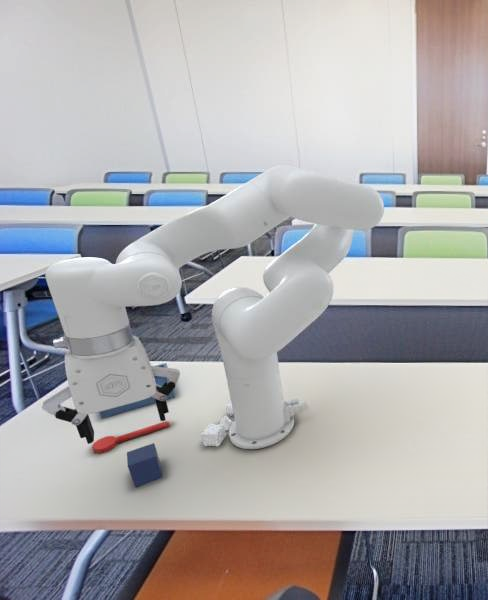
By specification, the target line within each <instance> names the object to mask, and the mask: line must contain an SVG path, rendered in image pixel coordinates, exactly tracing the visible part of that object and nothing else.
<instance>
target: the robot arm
mask: <svg viewBox="0 0 488 600" xmlns="http://www.w3.org/2000/svg"><path fill="white" fill-rule="evenodd" d="M384 212H385V204H384V200H383V197H382V196H381V194H380V192H378V190H376V189H375V188H373V187H372V186H370V185H367V184H363V183H359V182H355V181H352V180H348V179H343V178H338V177H335V176H334V177H333V176H329V175H326V174H323V173H319V172H316V171H312V170H309V169H306V168H302V167H298V166H294V165H290V164H279V165H276V166H273V167H270V168H269V169H267V170H265V171H263V172H262V173H260V174H258V175H257V176H255V177H253V178H251V179H250V180H248V181H247V182H245V183H243V184H241V185H240V186H238V187H237V188H235V189H234V190H232V191H230V192H228V193H227V194H225V195H223V196H222V197H220V198H218V199H217V200H215V201H213V202H211V203H209V204H207V205H205V206H202V207H199V208H197V209H195V210H193V211H191V212H189V213H185V214H184V215H181V216H178V217H177V218H174V219H172V220H170V221H168V222H166V223H164V224H162V225H160V226H159V227H157V228H155V229H153V230H152V231H150V232H148V233H146V234H145V235H143V236H141V237H140V238H138V239H136V240H134V241H133V242H131V243H130V244H128V245H127V246H126V247H125V248H123V250H121V252H120V253H119V254H118V255H117V258H116V260H115V263H112V262H111V261H109V260H107V259H105V258H101V257H91V256H88V257H87V256H86V257H75V258H69V259H64V260H60V261H58V262H55V263H53V264H51V265H49V266H48V267H47V269H46V270H45V273H44V274H45V275H44V277H45V280H46V283H47V287H48V290H49V293H50V296H51V298H52V301H53V304H54V307H55V310H56V313H57V316H58V319H59V321H60V324H61V328H62V330H63V333H64V334H63V335H62V336H61V337H60V336H59V338H54V339H52V343H53V347H54V348H55V349H60V348H63V349H64V348H65V349H66V350H67V351H66V352H65V354H64V369H65V375H66V380H67V384H68V386H67V387H65V388H63V389H62V390H60V391H58V392H57V393H56V394H54V395H52V396H50V397H48V398H47V399H45V400H44V401H43V402H42V407H41V409H42V410H43V411H45V412H47V413H48V414H50V415H51V416H54V417H55V418H56V419H57V420H60V421H64V422H68V423H71V425H73V426H75V427H76V429H77V432H78V435H79V438H80V439H84V438H85V440H86V443H87V444H88V445H90V444H92V443H93V442H95V430H94V427H93V425H92V421H91V418H90V415H91V414H97V413H100V412H101V411H104V410H108V409H112V408H116V407H119V406H123V405H127V404H130V403H134V402H137V401H141V400H144V399H147V398H149V397H153V398H155V400H156V403H155V406H156V409H157V413H158V417H159V421H160V422H165V421H167V420H166V414H168V413H170V411H169V407H168V403H167V400H168V399H167V396H168V395H169V394H170V392H171V391H172V390H173V391H174V389H175V388H176V385H177V383H178V380H179V378H180V375H181V373H180V370H179V369H178V368H173V367H168V368H165V367H156V365H151V361H150V359H149V356H148V354H147V351H146V350H145V347H144V345H143V343H142V342H141V340H140V339H139V337H138V336H136V335H134V334H133V331H132V327H131V324H130V320H129V317H128V316H129V315H128V313H127V308H126V307H149V306H151V307H152V306H159V305H162V304H166V303H168V302H170V301H173V300H174V299H175V298H176V297H177V296H178V295H179V293H180V291H181V289H182V285H183V284H182V283H183V282H182V276H181V274H180V272H179V269H180V268H181V267H183V266H185V265H187V264H188V263H190V262H191V261H193V260H195V259H197V258H199V257H201V256H203V255H206V254H208V253H213V252H215V251H221V250H234V249H239V248H240V249H241V248H243V247H247V246H249V245H251V244H252V243H253V242H255V241H256V240H258V239H259V238H261V237H262V236H263V235H265V234H266V233H268V232H270V231H272V229H274V228H276V227H277V226H278V225H280V224H282V223H283V222H285V221H287V220H288V219H289V218H293V219H296V220H298V221H300V222H301V221H302V222H305V223H311V224H313V226H312V228H311V229H310V230H309V231H308V232H307V233H306V234H305V235H303V237H302V238H300V239H299V240H297V242H295V243H294V244H293V245H291V246H290V247H288V248H287V249H286V250H285V251H284V252H282V253H281V254H280V255H278V256H277V257H276V258H274V259H272V261H271V262H270V263H269V264H268V265H267V266H266V267H265V269H264V272H263V275H262V281H263V284H264V286H265V288H266V290H268V292H269V293H268V294H267V295H266V296H263V294H261V293H260V292H258V291H256V290H254V289H252V288H248V287H244V286H237V287H236V286H235V287H232V288H229V289H226V290H224V291H223V292H222V293H221V294H220V295H218V297H216V299H215V301H214V303H213V304H212V309H211V321H212V326H213V330H214V333H215V337H216V339H217V342H218V346H219V350H220V354H221V358H222V362H223V363H222V364H223V368H224V373H225V378H226V384H227V387H228V392H229V397H230V401H231V403H232V408H233V413H234V414H233V417H234V421H232V422H233V423H232V424H231V426H230V428H229V430H228V437H229V441H230V443H232V445H234V446H235V447H237V448H240V449H243V450H257V449H259V450H260V449H263V448H267V447H270V446H273V445H275V444H277V443H278V442H280V441H282V440H283V439H285V438H286V437H287V436H288V435H289V434H290V433H291V432H292V430H293V429H294V425H295V417H294V416H295V414H297V413H302V412H303V411H306V410H308V409H309V404H308V402H307V400H303V401H301V402H299V399H298V398H297V397H295V398H293V399H290V400H288V401H287V400H284V394H283V386H282V379H281V372H280V366H279V357H278V352H280V351H281V350H282V349H283V348H284V347H286V346H287V345H288V344H289V343H291V342H292V341H293V340H294V339H295V338H296V337H298V336H299V334H301V333H302V332H303V331H304V330H305V329H307V328H308V327H309V326H310V325H312V323H313V322H315V321H316V320H317V319H318V318H319V317H320V316H321V315H322V314H323V313H324V312H325V311H326V309H327V308H328V307H329V305H330V304H331V301H332V298H333V295H334V290H335V289H334V282H333V279H332V277H331V276H330V273H331V272H332V271H333V270H334V269H335V268H336V267H337V266H338V265H339V264H340V263H341V262H342V261H343V260H344V259H345V258H346V257H347V255H348V253H349V252H350V250H351V247H352V244H353V239H354V232H355V231H361V232H362V231H368V230H371V229H373V228H375V227H376V226H377V225H378V224H379V223H380V222H381V220H382V219H383V216H384ZM154 376H159V377H168V380H167V381H166V382H165V383H164V384H163V386H160V385H157V384H156V382H155V378H154ZM70 398H71V399H72V401H73V406H74V409H73V408H70V407H66V406H62V404H63V403H65V402H66V401H67V400H69V399H70ZM166 399H167V400H166Z"/></svg>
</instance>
